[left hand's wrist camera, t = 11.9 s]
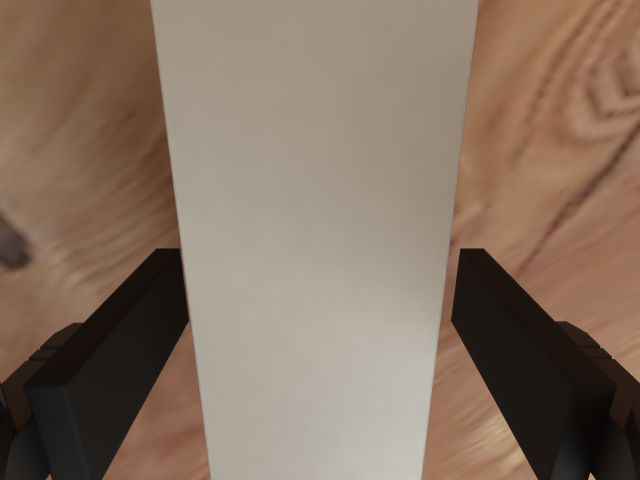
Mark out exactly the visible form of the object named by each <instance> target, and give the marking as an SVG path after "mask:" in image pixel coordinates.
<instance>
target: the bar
mask: <svg viewBox="0 0 640 480" xmlns="http://www.w3.org/2000/svg"><path fill="white" fill-rule="evenodd" d="M150 5H151V13H152V21H153V29H154V37H155V44H156V52H157V60H158V68H159V76H160V84H161V92H162V100H163V108H164V116H165V124H166V131H167V139H168V147H169V155H170V163H171V171H172V179H173V187H174V195H175V203H176V211H177V218H178V226H179V234H180V242H181V250H182V258H183V266H184V274H185V282H186V290H187V298H188V305H189V313H190V321H191V329H192V337H193V345H194V353H195V361H196V369H197V377H198V385H199V392H200V400H201V408H202V416H203V424H204V432H205V440H206V448H207V456H208V464H209V472H210V479H211V480H421V478H422V470H423V462H424V453H425V445H426V437H427V428H428V420H429V412H430V403H431V395H432V387H433V379H434V370H435V362H436V354H437V345H438V337H439V329H440V321H441V312H442V304H443V296H444V287H445V279H446V271H447V262H448V254H449V246H450V238H451V229H452V221H453V213H454V204H455V196H456V188H457V180H458V171H459V163H460V155H461V146H462V138H463V130H464V122H465V113H466V105H467V97H468V88H469V80H470V72H471V63H472V55H473V47H474V39H475V30H476V22H477V14H478V5H479V0H150Z"/></svg>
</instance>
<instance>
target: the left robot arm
mask: <svg viewBox="0 0 640 480" xmlns="http://www.w3.org/2000/svg"><path fill="white" fill-rule="evenodd" d="M188 321H189V317H188V309H187V302H186V294H185V286H184V279H183V271H182V263H181V255H180V249H155V251H154V252H153V253H152V254H151V255H150V256H149V257H148V258H147V259H146V260H145V261H144V262H143V263H142V264H141V265H140V266H139V267H138V268H137V269H136V270H135V271H134V272H133V273H132V274H131V275H130V276H129V277H128V278H127V279H126V280H125V281H124V282H123V283H122V284H121V285H120V286H119V287H118V288H117V289H116V290H115V291H114V292H113V293H112V294H111V295H110V297H109V298H108V299H107V300H106V301H105V302H104V303H103V304H102V305H101V306H100V307H99V308H98V309H97V310H96V311H95V312H94V313H93V314H92V315H91V316H90V317H89V318H88V319H87V320H86V321H85V322H84V323H73V324H71V325H69V326H67V327H65V328H64V329H62V330H60V331H58V332H57V333H55V334H54V335H52V336H51V337H50V338H49V339H48V340H47V341H46V342H45V343H44V344H43V345H42V346H41V347H40V350H37V351H36V352H35V353H34V354H32V355H31V356H30V357H29V360H28V361H25V362H24V363H23V364H22V365H21V366H20V367H19V368H18V369H17V370H16V371H15V372H14V373H12V374H11V375H10V376H9V377H8V378H7V379H6V380H5V381H4V382H3V383H2V384H1V383H0V480H46V478H47V477H48V476H49V474H50V475H51V478H52V480H102V479H103V477H104V475H105V473H106V471H107V469H108V468H109V466H110V464H111V462H112V460H113V458H114V457H115V455H116V453H117V451H118V449H119V447H120V446H121V444H122V442H123V440H124V438H125V437H126V435H127V433H128V431H129V429H130V427H131V426H132V424H133V422H134V420H135V418H136V416H137V415H138V413H139V411H140V409H141V407H142V405H143V404H144V402H145V400H146V398H147V396H148V395H149V393H150V391H151V389H152V387H153V385H154V384H155V382H156V380H157V378H158V376H159V374H160V373H161V371H162V369H163V367H164V365H165V363H166V362H167V360H168V358H169V356H170V354H171V353H172V351H173V349H174V347H175V345H176V343H177V342H178V340H179V338H180V336H181V334H182V332H183V331H184V329H185V327H186V325H187V323H188ZM451 321H452V323H453V325H454V327H455V329H456V331H457V332H458V334H459V336H460V338H461V340H462V342H463V343H464V345H465V347H466V349H467V351H468V353H469V354H470V356H471V358H472V360H473V362H474V363H475V365H476V367H477V369H478V371H479V373H480V374H481V376H482V378H483V380H484V382H485V384H486V385H487V387H488V389H489V391H490V393H491V395H492V396H493V398H494V400H495V402H496V404H497V405H498V407H499V409H500V411H501V413H502V415H503V416H504V418H505V420H506V422H507V424H508V426H509V427H510V429H511V431H512V433H513V435H514V437H515V438H516V440H517V442H518V444H519V446H520V447H521V449H522V451H523V453H524V455H525V457H526V458H527V460H528V462H529V464H530V466H531V468H532V469H533V471H534V473H535V475H536V477H537V479H538V480H588V478H589V475H590V472H591V473H592V475H593V476H594V478H595V479H596V480H640V383H639V382H638V381H637V380H636V379H635V378H634V377H633V376H632V375H631V374H630V373H629V372H628V371H627V370H625V369H624V368H623V367H622V366H621V365H620V364H619V363H618V362H617V361H616V360H615V359H612V356H611V355H610V354H608V353H607V352H606V351H605V350H604V349H603V348H600V345H599V344H598V343H597V342H596V341H595V340H594V339H593V338H592V337H590V336H589V335H588V334H587V333H586V332H584V331H583V330H581V329H579V328H577V327H576V326H574V325H572V324H570V323H568V322H567V321H554V320H553V319H552V318H551V317H550V316H549V315H548V314H547V313H546V312H545V311H544V310H543V309H542V308H541V307H540V306H539V305H538V304H537V303H536V302H535V301H534V300H533V299H532V298H531V297H530V295H529V294H528V293H527V292H526V291H525V290H524V289H523V288H522V287H521V286H520V285H519V284H518V283H517V282H516V281H515V280H514V279H513V278H512V277H511V276H510V275H509V274H508V273H507V272H506V271H505V270H504V269H503V268H502V267H501V266H500V265H499V264H498V263H497V262H496V261H495V260H494V259H493V258H492V257H491V256H490V255H489V254H488V253H487V252H486V251H485V249H460V255H459V263H458V271H457V279H456V286H455V294H454V302H453V309H452V317H451Z"/></svg>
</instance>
